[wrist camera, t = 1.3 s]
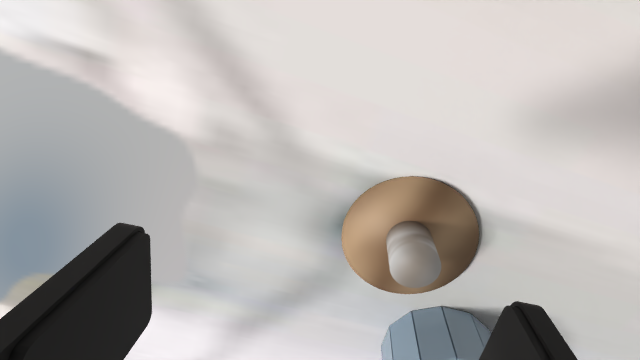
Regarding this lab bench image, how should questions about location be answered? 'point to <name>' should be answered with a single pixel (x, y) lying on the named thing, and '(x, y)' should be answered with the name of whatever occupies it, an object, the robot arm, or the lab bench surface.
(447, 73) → the lab bench surface
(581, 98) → the lab bench surface
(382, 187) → the lid
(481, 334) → the bowl
